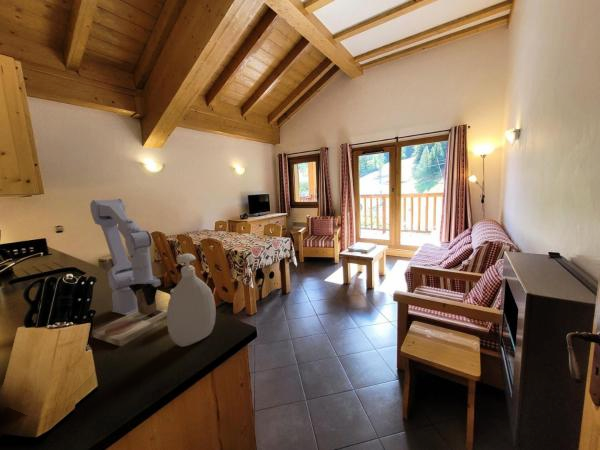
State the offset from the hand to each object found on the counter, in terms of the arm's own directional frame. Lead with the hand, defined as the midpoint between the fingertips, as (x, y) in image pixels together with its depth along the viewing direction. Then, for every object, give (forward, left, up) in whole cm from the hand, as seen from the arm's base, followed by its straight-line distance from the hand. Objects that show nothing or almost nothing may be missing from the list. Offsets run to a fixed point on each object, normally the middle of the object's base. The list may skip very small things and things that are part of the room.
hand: (146, 303), depth 90 cm
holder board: (0, -5, -6) cm, 8 cm away
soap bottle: (+25, -3, -6) cm, 26 cm away
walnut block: (0, 0, -3) cm, 3 cm away
